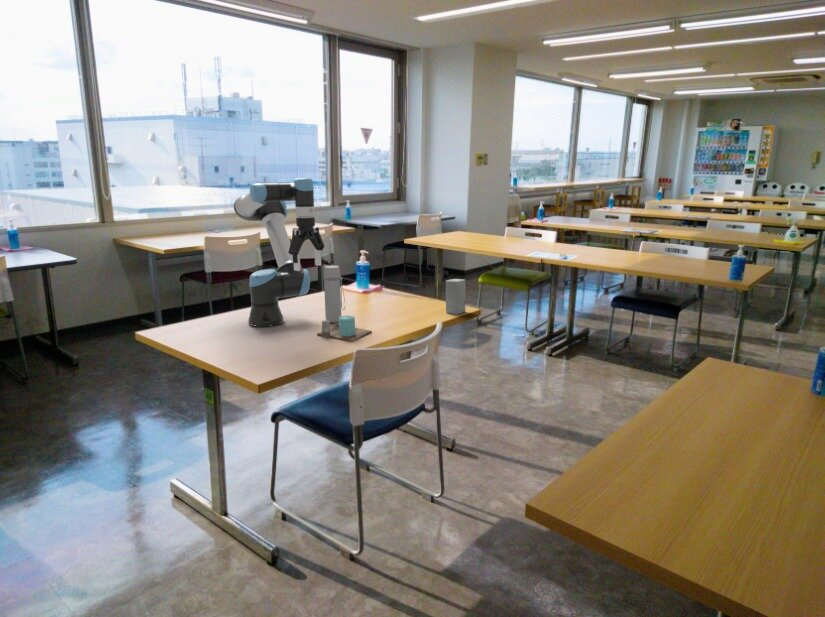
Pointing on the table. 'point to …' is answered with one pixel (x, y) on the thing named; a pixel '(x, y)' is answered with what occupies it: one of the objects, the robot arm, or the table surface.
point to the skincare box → (455, 296)
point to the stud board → (334, 333)
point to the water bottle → (333, 293)
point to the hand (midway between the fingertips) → (308, 267)
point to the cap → (347, 325)
